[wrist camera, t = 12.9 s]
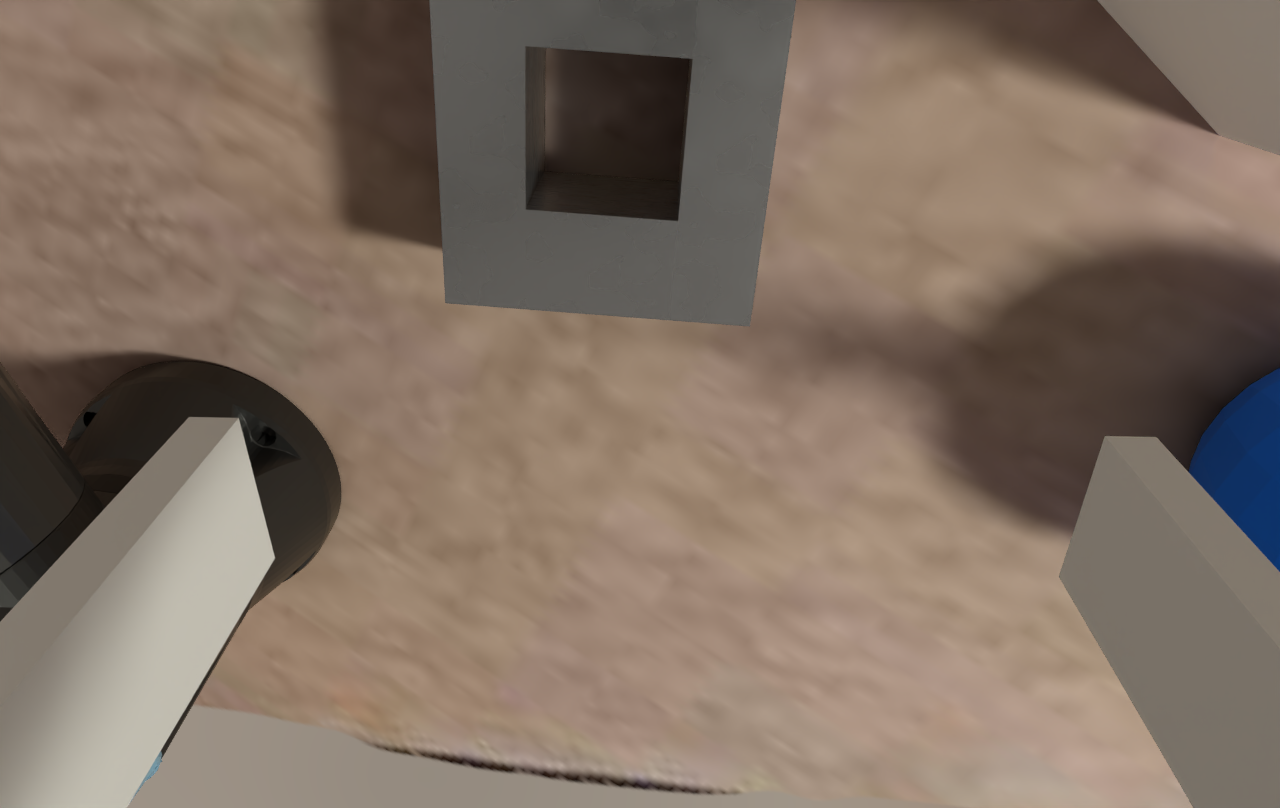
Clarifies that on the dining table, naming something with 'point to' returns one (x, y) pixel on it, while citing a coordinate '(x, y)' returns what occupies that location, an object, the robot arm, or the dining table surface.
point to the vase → (1246, 463)
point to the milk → (1215, 59)
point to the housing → (603, 205)
